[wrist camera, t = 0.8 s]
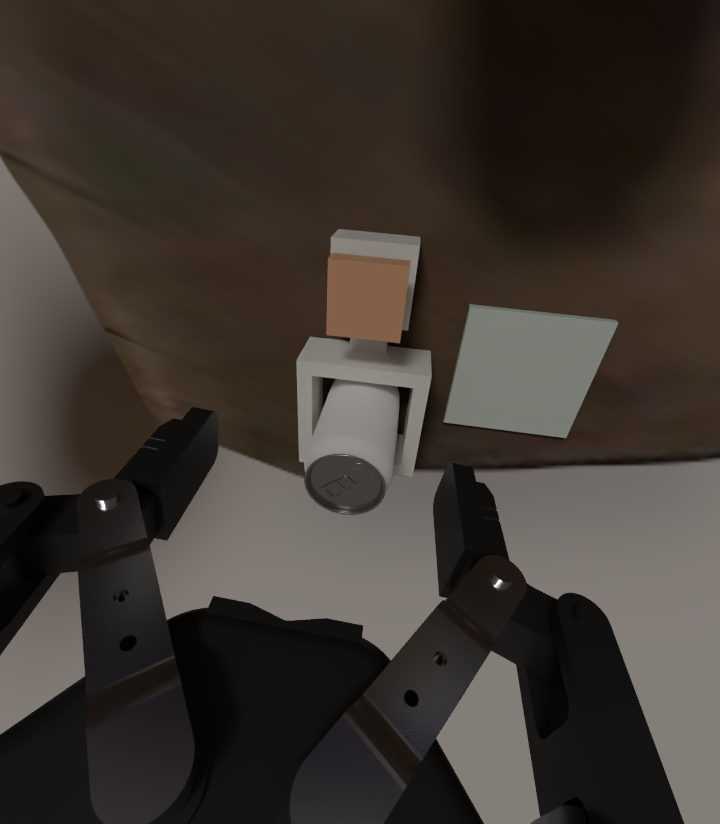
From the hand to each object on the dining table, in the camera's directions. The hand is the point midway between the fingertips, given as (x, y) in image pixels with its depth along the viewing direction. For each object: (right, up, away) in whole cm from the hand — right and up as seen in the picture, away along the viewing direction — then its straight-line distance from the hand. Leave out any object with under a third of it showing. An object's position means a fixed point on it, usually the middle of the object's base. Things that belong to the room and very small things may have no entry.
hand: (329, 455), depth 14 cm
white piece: (+2, +7, +21) cm, 22 cm away
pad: (+15, +5, +20) cm, 25 cm away
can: (+2, +3, +24) cm, 24 cm away
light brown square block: (+2, +11, +15) cm, 19 cm away
